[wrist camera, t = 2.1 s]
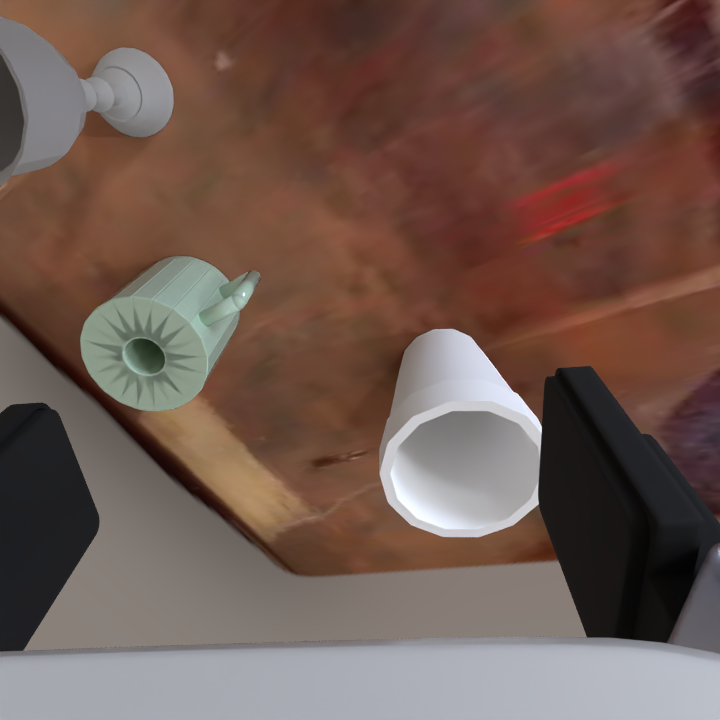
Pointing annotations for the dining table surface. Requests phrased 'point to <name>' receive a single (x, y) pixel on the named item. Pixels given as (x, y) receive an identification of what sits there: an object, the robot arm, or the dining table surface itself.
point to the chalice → (70, 98)
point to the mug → (164, 332)
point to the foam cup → (458, 441)
